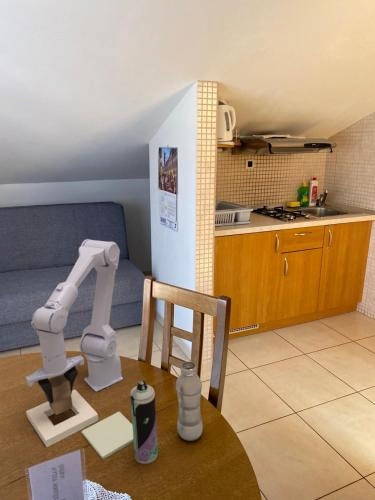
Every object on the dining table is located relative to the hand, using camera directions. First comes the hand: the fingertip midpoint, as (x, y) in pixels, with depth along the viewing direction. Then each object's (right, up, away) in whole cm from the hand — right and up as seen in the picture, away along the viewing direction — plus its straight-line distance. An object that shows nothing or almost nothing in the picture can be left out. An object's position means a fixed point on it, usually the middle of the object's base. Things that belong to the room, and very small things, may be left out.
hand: (59, 397), depth 103 cm
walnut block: (0, -3, +1) cm, 3 cm away
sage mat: (+14, -8, -4) cm, 17 cm away
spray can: (+24, -10, -10) cm, 28 cm away
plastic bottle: (+34, -8, -4) cm, 35 cm away
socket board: (0, -7, +2) cm, 7 cm away
